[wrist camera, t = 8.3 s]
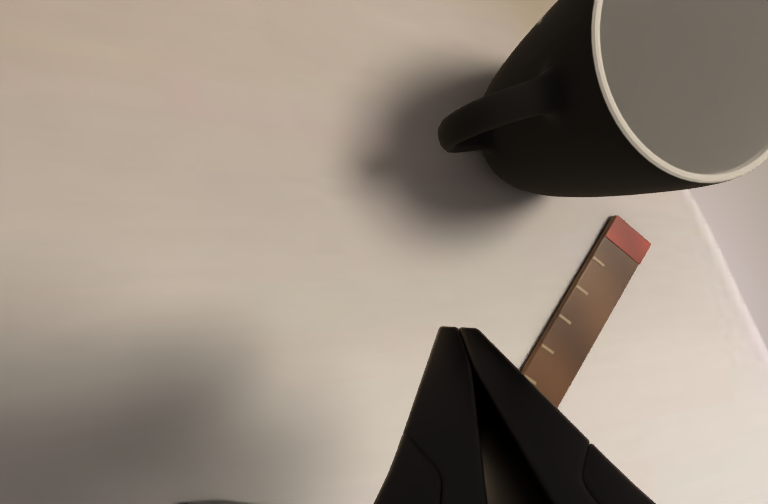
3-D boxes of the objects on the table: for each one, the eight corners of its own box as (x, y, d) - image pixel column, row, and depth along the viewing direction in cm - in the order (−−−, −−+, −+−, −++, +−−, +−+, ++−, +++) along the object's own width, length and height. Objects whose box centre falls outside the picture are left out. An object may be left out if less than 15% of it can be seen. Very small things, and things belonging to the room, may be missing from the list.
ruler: (513, 475, 23) (517, 480, 23) (473, 450, 23) (477, 454, 22) (644, 244, 25) (651, 244, 25) (611, 215, 25) (617, 215, 24)
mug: (576, 43, 24) (780, -100, 14) (608, 192, 25) (825, 154, 15) (384, 75, 21) (472, -75, 11) (426, 242, 22) (543, 237, 12)
